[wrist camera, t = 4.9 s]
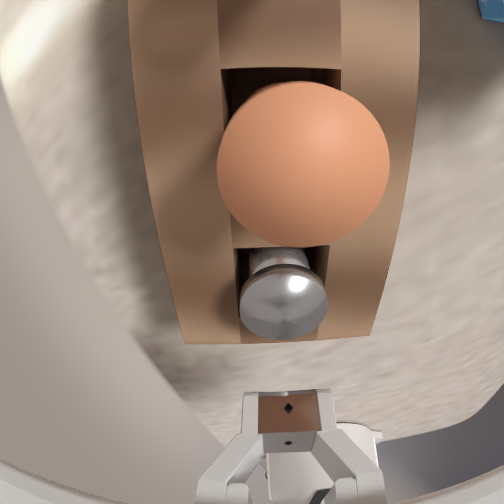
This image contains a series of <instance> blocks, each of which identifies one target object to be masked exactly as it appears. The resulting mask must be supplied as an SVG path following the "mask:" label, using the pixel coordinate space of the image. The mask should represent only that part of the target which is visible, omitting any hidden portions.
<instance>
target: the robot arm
mask: <svg viewBox="0 0 504 504" xmlns="http://www.w3.org/2000/svg"><path fill="white" fill-rule="evenodd" d="M382 439H383V435H382V432H378V431H371V430H369V429H368V428H367V427H365V426H362V425H359V424H350V423H338V424H337V423H336V416H335V410H334V403H333V397H332V391H331V390H330V388H328V389H316V390H315V389H312V390H299V391H284V392H244V394H243V403H242V422H241V434H236V435H235V436H234V438H233V439H232V440H231V441H230V443H229V444H228V445H227V446H226V448H225V449H224V450H223V451H222V453H221V454H220V455H219V456H218V458H216V460H215V461H214V462H213V463H212V464H211V466H210V467H209V468H208V469H207V470H206V471H205V473H204V474H203V475H202V476H201V477H200V478H199V479H198V486H197V494H196V503H195V504H252V500H251V496H250V492H249V488H248V486H246V485H245V484H244V483H245V481H246V480H247V479H248V477H249V476H250V474H251V473H252V471H253V470H254V468H255V467H256V466H257V464H258V463H260V464H261V465H262V466H263V468H264V469H265V470H266V471H267V472H266V478H267V479H268V490H269V499H270V500H271V501H273V503H274V504H387V499H386V493H385V487H384V481H383V474H382V471H381V470H380V469H379V467H378V459H377V452H376V445H377V444H378V443H379V442H380V441H381V440H382ZM0 504H127V503H123V502H118V501H114V500H111V499H107V498H103V497H100V496H96V495H93V494H89V493H86V492H83V491H80V490H77V489H74V488H71V487H68V486H65V485H62V484H59V483H57V482H54V481H51V480H49V479H46V478H44V477H41V476H39V475H36V474H34V473H32V472H29V471H27V470H25V469H22V468H20V467H18V466H16V465H14V464H12V463H10V462H8V461H6V460H3V459H0ZM393 504H504V465H503V466H501V467H499V468H497V469H495V470H492V471H490V472H488V473H485V474H483V475H480V476H478V477H476V478H473V479H471V480H468V481H466V482H463V483H460V484H457V485H455V486H452V487H449V488H446V489H443V490H440V491H437V492H434V493H430V494H427V495H424V496H421V497H417V498H413V499H409V500H406V501H401V502H398V503H393Z"/></svg>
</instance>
